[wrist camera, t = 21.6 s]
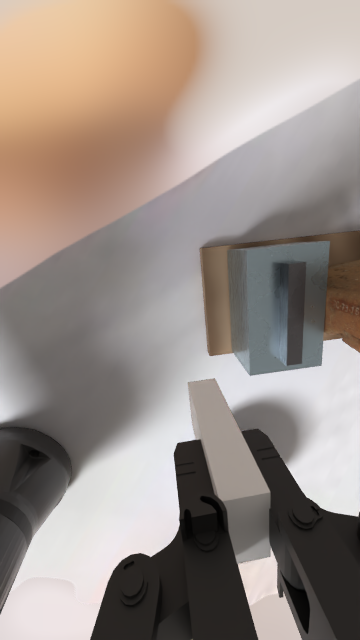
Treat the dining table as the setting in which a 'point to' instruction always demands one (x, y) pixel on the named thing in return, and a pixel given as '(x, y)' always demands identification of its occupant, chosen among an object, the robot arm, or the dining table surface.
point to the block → (344, 302)
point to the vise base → (217, 282)
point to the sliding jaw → (278, 305)
